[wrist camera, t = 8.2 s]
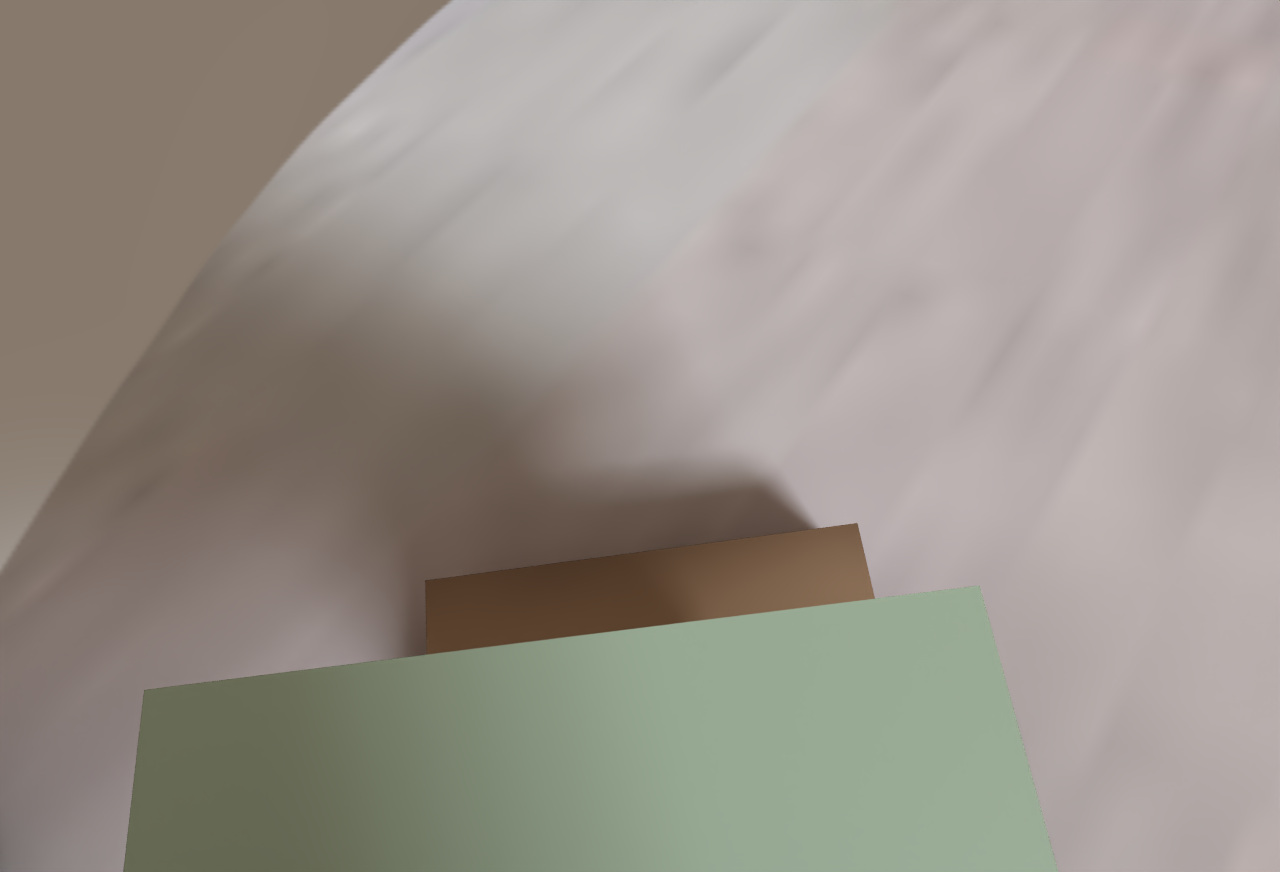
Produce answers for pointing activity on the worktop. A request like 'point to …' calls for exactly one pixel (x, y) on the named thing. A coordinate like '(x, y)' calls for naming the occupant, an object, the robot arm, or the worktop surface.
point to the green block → (611, 754)
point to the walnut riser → (647, 589)
